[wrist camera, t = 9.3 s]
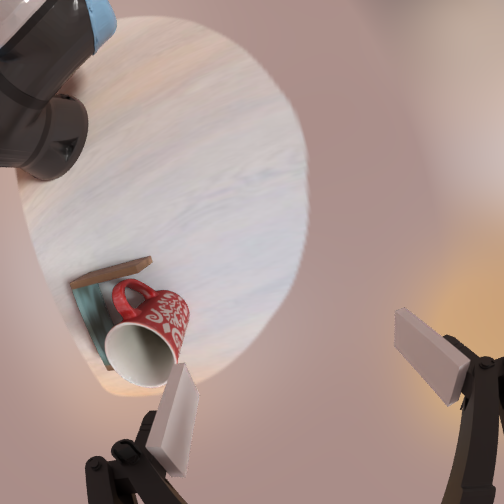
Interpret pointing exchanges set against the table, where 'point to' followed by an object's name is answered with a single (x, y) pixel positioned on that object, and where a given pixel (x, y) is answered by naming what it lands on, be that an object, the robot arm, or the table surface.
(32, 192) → the table surface
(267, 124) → the table surface
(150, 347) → the mug
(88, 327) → the dock
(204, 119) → the table surface
